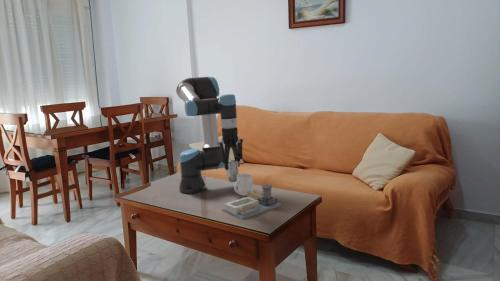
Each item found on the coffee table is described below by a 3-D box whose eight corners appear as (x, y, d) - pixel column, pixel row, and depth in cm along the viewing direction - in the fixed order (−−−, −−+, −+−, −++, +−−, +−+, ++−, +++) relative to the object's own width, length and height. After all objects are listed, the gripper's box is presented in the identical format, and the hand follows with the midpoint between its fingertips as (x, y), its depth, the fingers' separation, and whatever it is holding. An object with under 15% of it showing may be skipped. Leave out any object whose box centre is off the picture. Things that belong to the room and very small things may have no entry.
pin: (227, 181, 185) (225, 160, 184) (234, 179, 188) (232, 159, 186) (232, 182, 182) (230, 162, 181) (238, 180, 185) (237, 160, 183)
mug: (240, 198, 202) (238, 180, 201) (229, 195, 208) (228, 177, 206) (255, 193, 211) (255, 175, 209) (245, 190, 216) (244, 172, 215)
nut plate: (222, 210, 187) (220, 191, 185) (259, 198, 201) (258, 180, 200) (242, 219, 174) (240, 198, 173) (280, 205, 189) (279, 186, 187)
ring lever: (243, 197, 200) (243, 193, 199) (253, 194, 204) (253, 190, 203) (266, 206, 185) (266, 201, 185) (277, 202, 190) (277, 197, 189)
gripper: (218, 130, 173) (222, 180, 176) (248, 125, 183) (251, 172, 187) (209, 129, 179) (213, 177, 182) (239, 124, 189) (242, 170, 192)
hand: (232, 175), depth 184 cm, fingers closed on pin, 4 cm apart
